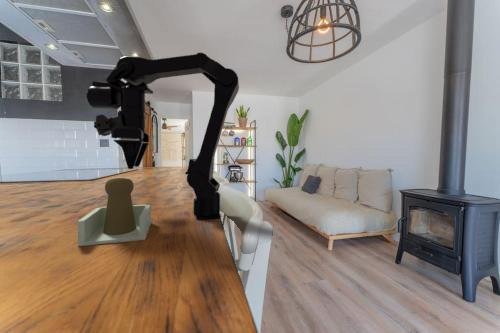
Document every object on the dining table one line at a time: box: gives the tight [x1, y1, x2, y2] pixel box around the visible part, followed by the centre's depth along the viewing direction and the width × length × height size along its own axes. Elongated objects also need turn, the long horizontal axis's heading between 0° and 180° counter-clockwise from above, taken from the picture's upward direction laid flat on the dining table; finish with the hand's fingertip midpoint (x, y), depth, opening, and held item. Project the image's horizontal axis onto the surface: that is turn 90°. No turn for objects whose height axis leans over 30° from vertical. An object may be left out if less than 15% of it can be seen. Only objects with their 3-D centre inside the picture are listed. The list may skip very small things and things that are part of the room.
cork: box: [103, 177, 136, 235], centre depth 46 cm, size 6×6×11 cm
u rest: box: [77, 203, 152, 247], centre depth 46 cm, size 11×11×5 cm
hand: (133, 167), depth 59 cm, fingers open, 9 cm apart
